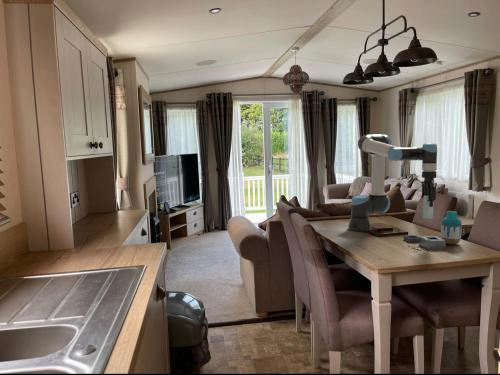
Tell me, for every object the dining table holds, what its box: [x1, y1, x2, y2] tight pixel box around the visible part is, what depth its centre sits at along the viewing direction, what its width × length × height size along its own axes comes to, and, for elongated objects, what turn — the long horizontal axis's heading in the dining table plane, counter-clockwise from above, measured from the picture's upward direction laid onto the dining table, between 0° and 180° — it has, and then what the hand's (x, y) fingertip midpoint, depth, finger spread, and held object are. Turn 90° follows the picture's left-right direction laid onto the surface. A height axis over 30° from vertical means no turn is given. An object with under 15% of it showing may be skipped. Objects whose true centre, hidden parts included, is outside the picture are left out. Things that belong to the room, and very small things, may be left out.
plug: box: [422, 195, 435, 220], centre depth 223 cm, size 4×4×13 cm
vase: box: [440, 210, 463, 245], centre depth 227 cm, size 11×11×19 cm
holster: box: [403, 234, 420, 244], centre depth 236 cm, size 8×8×2 cm
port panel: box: [418, 235, 446, 250], centre depth 222 cm, size 10×10×6 cm
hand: (428, 211), depth 223 cm, fingers closed on plug, 4 cm apart
